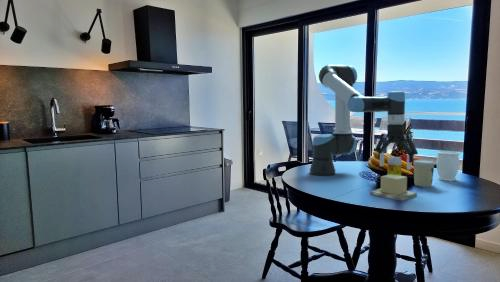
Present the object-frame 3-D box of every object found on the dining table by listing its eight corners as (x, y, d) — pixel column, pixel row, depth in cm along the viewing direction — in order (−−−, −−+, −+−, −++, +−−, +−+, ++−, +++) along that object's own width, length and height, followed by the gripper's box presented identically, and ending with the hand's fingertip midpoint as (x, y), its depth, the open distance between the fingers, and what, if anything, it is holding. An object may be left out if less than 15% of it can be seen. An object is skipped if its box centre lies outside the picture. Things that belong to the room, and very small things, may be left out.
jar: (462, 180, 176) (464, 152, 174) (449, 182, 172) (450, 153, 171) (444, 176, 186) (445, 150, 184) (431, 178, 182) (432, 151, 180)
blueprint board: (370, 194, 151) (370, 191, 151) (385, 189, 159) (385, 186, 159) (402, 200, 140) (402, 197, 139) (416, 195, 148) (417, 192, 148)
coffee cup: (436, 187, 162) (437, 163, 161) (415, 186, 164) (416, 162, 163) (430, 183, 171) (431, 160, 170) (410, 182, 173) (411, 159, 172)
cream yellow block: (380, 191, 150) (380, 176, 149) (389, 188, 155) (389, 174, 154) (397, 195, 144) (398, 179, 143) (406, 192, 149) (407, 176, 148)
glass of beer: (385, 187, 163) (385, 157, 161) (390, 185, 167) (391, 156, 165) (397, 189, 158) (398, 158, 157) (402, 187, 163) (403, 157, 161)
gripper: (368, 123, 167) (367, 165, 169) (418, 124, 147) (417, 171, 149) (375, 123, 171) (375, 163, 173) (426, 123, 152) (425, 169, 154)
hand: (394, 167), depth 161 cm, fingers open, 13 cm apart
